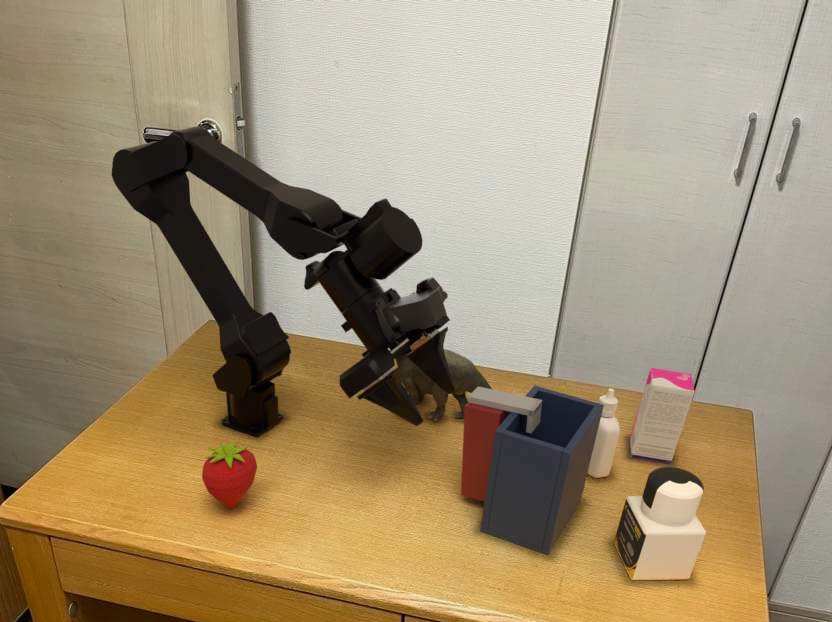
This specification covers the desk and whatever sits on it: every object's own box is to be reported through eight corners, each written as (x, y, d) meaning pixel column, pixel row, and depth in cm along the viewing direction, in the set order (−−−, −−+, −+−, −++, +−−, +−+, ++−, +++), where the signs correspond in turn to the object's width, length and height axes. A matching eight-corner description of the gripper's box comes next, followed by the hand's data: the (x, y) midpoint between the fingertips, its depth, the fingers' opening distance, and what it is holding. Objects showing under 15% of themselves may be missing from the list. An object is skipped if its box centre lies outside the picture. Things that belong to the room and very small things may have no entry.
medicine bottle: (612, 542, 98) (636, 459, 90) (668, 542, 98) (696, 459, 91) (630, 581, 92) (657, 496, 85) (689, 580, 93) (721, 496, 85)
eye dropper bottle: (607, 459, 113) (627, 382, 105) (608, 481, 108) (629, 402, 101) (576, 454, 113) (593, 377, 106) (576, 476, 109) (594, 397, 101)
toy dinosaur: (513, 423, 119) (524, 353, 112) (486, 447, 113) (497, 375, 106) (389, 380, 127) (392, 312, 120) (358, 400, 122) (360, 330, 115)
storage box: (479, 531, 98) (495, 430, 89) (517, 480, 107) (534, 385, 98) (548, 555, 95) (570, 453, 86) (580, 501, 104) (604, 404, 95)
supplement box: (672, 464, 112) (695, 391, 105) (629, 458, 113) (649, 385, 106) (670, 443, 117) (692, 372, 110) (628, 437, 118) (648, 366, 110)
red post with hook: (460, 495, 101) (464, 399, 93) (476, 476, 105) (481, 382, 97) (521, 511, 98) (530, 414, 90) (535, 491, 102) (545, 396, 94)
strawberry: (269, 497, 101) (266, 428, 95) (236, 530, 95) (230, 459, 89) (229, 484, 103) (223, 416, 96) (194, 515, 97) (185, 445, 91)
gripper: (366, 288, 83) (452, 411, 86) (442, 239, 96) (514, 348, 99) (302, 340, 90) (384, 452, 93) (381, 288, 103) (450, 388, 107)
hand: (436, 407), depth 98 cm, fingers open, 9 cm apart
